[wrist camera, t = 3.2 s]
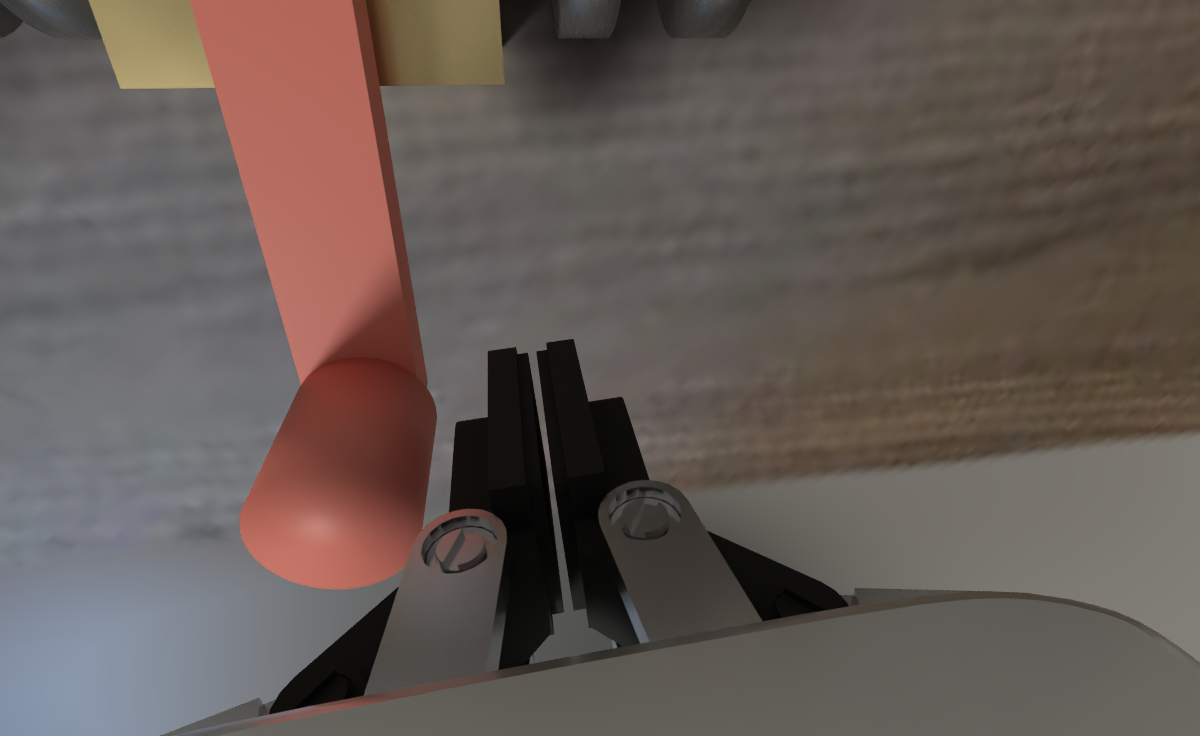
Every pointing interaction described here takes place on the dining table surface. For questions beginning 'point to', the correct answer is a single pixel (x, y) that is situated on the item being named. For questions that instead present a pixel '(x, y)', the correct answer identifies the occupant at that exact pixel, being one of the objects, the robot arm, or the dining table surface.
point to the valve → (397, 22)
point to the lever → (327, 289)
